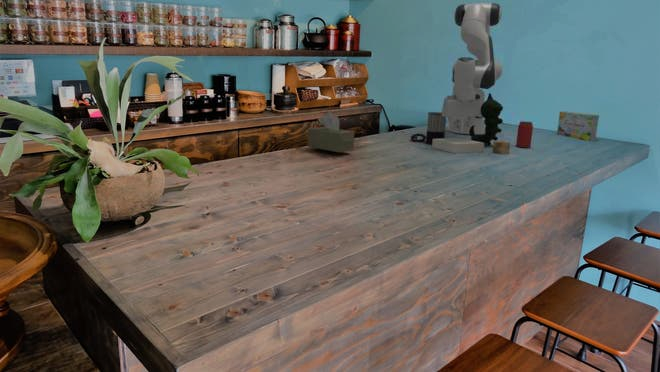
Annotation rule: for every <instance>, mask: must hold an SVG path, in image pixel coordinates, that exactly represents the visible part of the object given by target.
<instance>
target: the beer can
mask: <svg viewBox="0 0 660 372" xmlns="http://www.w3.org/2000/svg"><path fill="white" fill-rule="evenodd" d="M533 129H534V125H533V121H526V120H525V121H519V124H518V126H517V135H516V143H515V145H516V147H517V148H525V149H527V148H531V144H532V138H533V137H532V136H533Z"/></svg>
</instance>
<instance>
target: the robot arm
mask: <svg viewBox="0 0 660 372" xmlns="http://www.w3.org/2000/svg"><path fill="white" fill-rule="evenodd" d="M455 8H456V9H455V11H454V15H453V18H454V23H455V24H456V26H458V27H461V28H460V37H461V39H462V41H463V42H464V43H465V45H466V49H467V51H468V53H469V54H471V55H472V56H474V57H475V58H476V59H475V58H474V57H466V56H465V57H459V58H458V59H456V61H455V62H454V64H453V65H452V69H451V73H452V78H451V81H452V83H453V86H452V95H447V96H446V97H445V98H444V99H443V104H442V108H441V112H442V116H443V117H446V118H447V120H448V123H449V124H448V125H449V127H445V131H448V132H451V133H456V134H461V135H462V134H463V135H465V134H466V135H470V134H469V130H470V128H471V127H472V126H473V125H474V133H475V135H484V134H485V123H484V120H485V118H484V117H483V116H482V115H481V112H480V109H481V106H482V104H483V103H484V102H485V101H486V100H485V98H486V93H485V91H484V90H489V89H490V88H492V87H493V86H495V85H496V81H498V80H499V79H500V78H501V76H502V75H503V65H502V64H501V62H500V61H498V60H497V59H496V58H495V56H494V55H495V54H494V46H493V38H492V36H491V35H490V34H491V27H494V26H497V25H498V24H499V23H500V21H501V19H502V13H503V12H502V9H501V5H500V4H498V3H495V2H492V3H489V2H488V3H487V2H477V3H468V4H464V3H463V4H460V5H458V6H457V7H455ZM483 89H484V90H483Z"/></svg>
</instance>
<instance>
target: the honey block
mask: <svg viewBox="0 0 660 372" xmlns="http://www.w3.org/2000/svg"><path fill="white" fill-rule="evenodd" d="M492 143H493V144H492V150H491V151H492V153H493V154H499V155H507V154H510V148H511V142H510V141H504V140H497V141H495V140H493V142H492Z"/></svg>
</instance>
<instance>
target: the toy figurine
mask: <svg viewBox="0 0 660 372" xmlns="http://www.w3.org/2000/svg"><path fill="white" fill-rule="evenodd" d="M503 109H504V107H503V105H502V104H501V103H499V102H498V101H497V100H496V99H494V98H493V96H492V93H491V92H489V93H488V95H487V99H486V100H484V103H483V104H482V106H481V109H480V112H481V115H482V116H483V118H484V131H485V133H484V134H475V133H474V125H473V126H472V127H471V128H470V130H469V134H468V135H469V136H470V137H471V138H470V140H473V141H477V142H482V143H484V147H486V146H491V145H492V142H491V141H499V138H498V137H497V134H498V133H502V129H501V128H499V125H501V124H503V122H504V120H503V118H501V117H500V115H501V113H502V111H504V110H503Z"/></svg>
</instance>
